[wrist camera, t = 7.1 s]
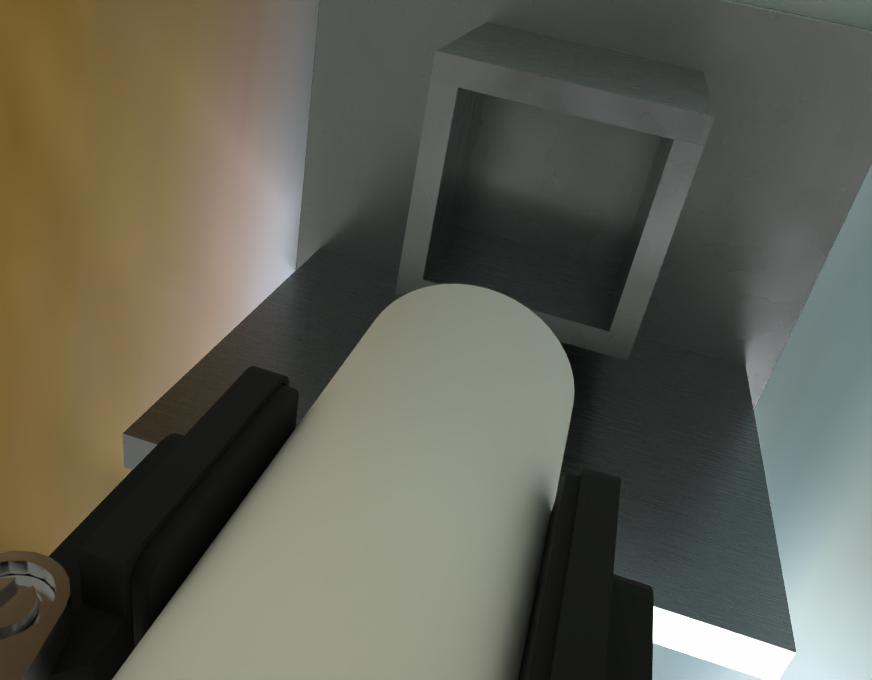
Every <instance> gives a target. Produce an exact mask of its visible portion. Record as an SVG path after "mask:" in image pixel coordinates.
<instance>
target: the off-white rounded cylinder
mask: <svg viewBox="0 0 872 680" xmlns="http://www.w3.org/2000/svg"><path fill="white" fill-rule="evenodd" d="M574 392H575V391H574V378H573V374H572V369H571V365H570V363H569V360H568V357H567V355H566V352H565V351H564V349H563V347H562V345H561V343H560V342H559V340H558V339H557V337H556V336H555V335H554V333H553V332H552V330H551V329H550V328H549V327H548V326H547V325H546V324H545V323H544V322H543V321H542V320H541V319H540V318H539V317H538V316H537V315H536V314H535V313H533V312H532V311H531V310H530V309H528V308H527V307H525V306H524V305H522V304H521V303H519V302H517V301H516V300H514V299H512V298H510V297H508V296H506V295H504V294H502V293H499V292H496V291H493V290H490V289H487V288H483V287H478V286H474V285H466V284H440V285H433V286H428V287H424V288H421V289H418V290H414V291H412V292H410V293H408V294H406V295H404V296H402V297H400V298H399V299H397V300H396V301H394V302H392V303H391V304H390V305H389V306H388V307H387V308H385V309H384V310H383V311H382V312H381V313H380V315H379V316H378V317H377V318H376V320H375V321H374V322H373V323H372V325H371V326H370V328H369V329H368V330H367V332H366V333H365V334H364V336H363V337H362V339H361V340H360V341H359V343H358V344H357V345H356V347H355V348H354V349H353V351H352V352H351V354H350V355H349V356H348V358H347V359H346V360H345V362H344V363H343V364H342V366H341V367H340V369H339V370H338V371H337V373H336V374H335V375H334V377H333V378H332V380H331V381H330V382H329V384H328V385H327V386H326V388H325V389H324V390H323V392H322V393H321V395H320V396H319V397H318V399H317V400H316V401H315V403H314V404H313V405H312V407H311V408H310V410H309V411H308V412H307V414H306V415H305V416H304V418H303V419H302V421H301V422H300V423H299V425H298V426H297V427H296V429H295V430H294V431H293V433H292V434H291V436H290V437H289V438H288V440H287V441H286V442H285V444H284V445H283V446H282V448H281V449H280V451H279V452H278V453H277V455H276V456H275V457H274V459H273V460H272V462H271V463H270V464H269V466H268V467H267V468H266V470H265V471H264V472H263V474H262V475H261V477H260V478H259V479H258V481H257V482H256V483H255V485H254V486H253V487H252V489H251V490H250V492H249V493H248V494H247V496H246V497H245V498H244V500H243V501H242V503H241V504H240V505H239V507H238V508H237V509H236V511H235V512H234V513H233V515H232V516H231V518H230V519H229V520H228V522H227V523H226V524H225V526H224V527H223V529H222V530H221V531H220V533H219V534H218V535H217V537H216V538H215V539H214V541H213V542H212V544H211V545H210V546H209V548H208V549H207V550H206V552H205V553H204V554H203V556H202V557H201V559H200V560H199V561H198V563H197V564H196V565H195V567H194V568H193V570H192V571H191V572H190V574H189V575H188V576H187V578H186V579H185V580H184V582H183V583H182V585H181V586H180V587H179V589H178V590H177V591H176V593H175V594H174V595H173V597H172V598H171V600H170V601H169V602H168V604H167V605H166V606H165V608H164V609H163V611H162V612H161V613H160V615H159V616H158V617H157V619H156V620H155V621H154V623H153V624H152V626H151V627H150V628H149V630H148V631H147V632H146V634H145V635H144V636H143V638H142V639H141V641H140V642H139V643H138V645H137V646H136V647H135V649H134V650H133V652H132V653H131V654H130V656H129V657H128V658H127V660H126V661H125V662H124V664H123V665H122V667H121V668H120V669H119V671H118V672H117V673H116V675H115V676H114V678H113V679H112V680H518V678H519V672H520V667H521V662H522V657H523V652H524V647H525V642H526V637H527V632H528V627H529V622H530V616H531V611H532V606H533V601H534V596H535V591H536V586H537V581H538V576H539V571H540V566H541V561H542V555H543V550H544V545H545V540H546V535H547V530H548V525H549V520H550V515H551V511H552V508H553V505H554V502H555V497H556V492H557V487H558V482H559V476H560V471H561V466H562V461H563V456H564V451H565V445H566V440H567V435H568V430H569V425H570V420H571V414H572V409H573V404H574Z"/></svg>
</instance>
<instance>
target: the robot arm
mask: <svg viewBox="0 0 872 680" xmlns="http://www.w3.org/2000/svg"><path fill="white" fill-rule="evenodd" d="M289 383H290V382H289V378H288V377H287V376H285V375H282V374H279V373H275V372H272V371H269V370H266V369H262V368H259V367H256V366H250V367H249V368H248V369H246V370H245V371H244V373H243V374H242V375H241V376H240V377H239V378H238V379H237V380H236V381H235V382H234V383H233V384H232V385H231V386H230V387H229V389H228V390H227V391H226V392H225V393H224V394H223V395H222V396H221V397H220V398H219V399H218V400H217V401H216V402H215V403H214V405H213V406H212V407H211V408H210V409H209V410H208V411H207V412H206V413H205V414H204V415H203V416H202V417H201V418H200V419H199V421H198V422H197V423H196V424H195V425H194V426H193V427H192V428H191V429H190V430H189V431H188V432H187V433H186V434H185V436H183V435H180V434H177V433H173V434H170V435H168V436H166V437H165V438H164V439H163V440H162V441H160V442H159V443H158V445H157V446H156V447H155V448H154V449H153V450H152V451H151V452H150V453H149V454H148V455H147V456H146V457H145V458H144V459H143V460H142V461H141V462H140V463H139V464H138V465H137V466H136V467H135V468H134V469H133V470H132V471H131V472H130V473H129V474H128V475H127V476H126V477H125V478H124V480H123V481H122V482H121V483H120V484H119V485H118V486H117V487H116V488H115V489H114V490H113V491H112V492H111V493H110V494H109V495H108V496H107V497H106V498H105V499H104V500H103V501H102V502H101V503H100V504H99V505H98V506H97V507H96V508H95V509H94V510H93V511H92V512H91V513H90V514H89V516H88V517H87V518H86V519H85V520H84V521H83V522H82V523H81V524H80V525H79V526H78V527H77V528H76V529H75V530H74V531H73V532H72V533H71V534H70V535H69V536H68V537H67V538H66V539H65V540H64V541H63V542H62V543H61V544H60V545H59V546H58V547H57V548H56V549H55V551H54V552H53V553H52V554H51V555H50V556H49V557H48V556H45V555H42V554H39V553H35V552H26V551H10V552H3V553H0V680H112V679H113V678H114V676H115V675H116V673H117V672H118V671H119V669H120V668H121V667H122V665H123V664H124V662H125V661H126V660H127V658H128V657H129V656H130V654H131V653H132V652H133V650H134V649H135V647H136V646H137V645H138V643H139V642H140V641H141V639H142V638H143V636H144V635H145V634H146V632H147V631H148V630H149V628H150V627H151V626H152V624H153V623H154V621H155V620H156V619H157V617H158V616H159V615H160V613H161V612H162V611H163V609H164V608H165V606H166V605H167V604H168V602H169V601H170V600H171V598H172V597H173V595H174V594H175V593H176V591H177V590H178V589H179V587H180V586H181V585H182V583H183V582H184V580H185V579H186V578H187V576H188V575H189V574H190V572H191V571H192V570H193V568H194V567H195V565H196V564H197V563H198V561H199V560H200V559H201V557H202V556H203V554H204V553H205V552H206V550H207V549H208V548H209V546H210V545H211V544H212V542H213V541H214V539H215V538H216V537H217V535H218V534H219V533H220V531H221V530H222V529H223V527H224V526H225V524H226V523H227V522H228V520H229V519H230V518H231V516H232V515H233V513H234V512H235V511H236V509H237V508H238V507H239V505H240V504H241V503H242V501H243V500H244V498H245V497H246V496H247V494H248V493H249V492H250V490H251V489H252V487H253V486H254V485H255V483H256V482H257V481H258V479H259V478H260V477H261V475H262V474H263V472H264V471H265V470H266V468H267V467H268V466H269V464H270V463H271V462H272V460H273V459H274V457H275V456H276V455H277V453H278V452H279V451H280V449H281V448H282V446H283V445H284V444H285V442H286V441H287V440H288V438H289V437H290V436H291V434H292V433H293V431H294V430H295V429H296V419H297V409H298V399H299V393H298V390H297V389H295V388H292V387H289ZM620 488H621V479H620V477H617V476H614V475H610V474H607V473H604V472H601V471H597V470H594V469H591V468H587V467H584V466H583V467H582V468H581V470H580V473H579V475H576V474H572V473H569V472H565V473H564V476H563V479H562V482H561V484H560V487H559V490H558V493H557V496H556V499H555V502H554V505H553V508H552V511H551V515H550V520H549V525H548V530H547V535H546V540H545V545H544V550H543V555H542V561H541V566H540V571H539V576H538V581H537V586H536V591H535V596H534V601H533V606H532V611H531V616H530V622H529V627H528V632H527V637H526V642H525V647H524V652H523V657H522V662H521V667H520V672H519V678H518V680H652V658H653V609H654V598H653V590H652V587H651V586H649V585H646V584H643V583H640V582H637V581H634V580H631V579H627V578H624V577H621V576H618V575H615V574H613V572H614V560H615V548H616V536H617V524H618V512H619V500H620Z"/></svg>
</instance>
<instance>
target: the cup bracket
mask: <svg viewBox="0 0 872 680" xmlns="http://www.w3.org/2000/svg"><path fill="white" fill-rule="evenodd" d="M871 164H872V31H871V30H867V29H862V28H857V27H853V26H848V25H843V24H839V23H834V22H829V21H825V20H820V19H815V18H811V17H806V16H801V15H797V14H792V13H787V12H783V11H778V10H773V9H769V8H764V7H759V6H755V5H750V4H745V3H741V2H736V1H732V0H320V2H319V14H318V25H317V36H316V47H315V59H314V70H313V81H312V93H311V104H310V115H309V126H308V138H307V149H306V160H305V172H304V183H303V194H302V205H301V217H300V228H299V239H298V251H297V262H296V271H295V272H294V273H293V274H292V275H291V276H290V277H289V278H288V279H286V280H285V281H284V282H283V283H282V284H281V285H280V286H279V287H278V288H277V289H276V290H275V291H274V292H273V293H272V294H271V295H269V296H268V297H267V298H266V299H265V300H264V301H263V302H262V303H261V304H260V305H259V306H258V307H257V308H256V309H255V310H254V311H252V312H251V313H250V314H249V315H248V316H247V317H246V318H245V319H244V320H243V321H242V322H241V323H240V324H239V325H238V326H237V327H235V328H234V329H233V330H232V331H231V332H230V333H229V334H228V335H227V336H226V337H225V338H224V339H223V340H222V341H221V342H220V343H218V344H217V345H216V346H215V347H214V348H213V349H212V350H211V351H210V352H209V353H208V354H207V355H206V356H205V357H204V358H203V359H201V360H200V361H199V362H198V363H197V364H196V365H195V366H194V367H193V368H192V369H191V370H190V371H189V372H188V373H187V374H186V375H184V376H183V377H182V378H181V379H180V380H179V381H178V382H177V383H176V384H175V385H174V386H173V387H172V388H171V389H170V390H169V391H167V392H166V393H165V394H164V395H163V396H162V397H161V398H160V399H159V400H158V401H157V402H156V403H155V404H154V405H153V406H152V407H150V408H149V409H148V410H147V411H146V412H145V413H144V414H143V415H142V416H141V417H140V418H139V419H138V420H137V421H136V422H135V423H133V424H132V425H131V426H130V427H129V428H128V429H127V430H126V431H125V432H124V433H123V449H124V467H126V468H129V469H132V470H133V469H134V468H135V467H136V466H137V465H138V464H139V463H140V462H141V461H142V460H143V459H144V458H145V457H146V456H147V455H148V454H149V453H150V452H151V451H152V450H153V449H154V448H155V447H156V446H157V445H158V443H159V442H160V441H162V440H163V439H164V438H165V437H166V436H168V435H170V434H173V433H177V434H180V435H183V436H185V434H186V433H187V432H188V431H189V430H190V429H191V428H192V427H193V426H194V425H195V424H196V423H197V422H198V421H199V419H200V418H201V417H202V416H203V415H204V414H205V413H206V412H207V411H208V410H209V409H210V408H211V407H212V406H213V405H214V403H215V402H216V401H217V400H218V399H219V398H220V397H221V396H222V395H223V394H224V393H225V392H226V391H227V390H228V389H229V387H230V386H231V385H232V384H233V383H234V382H235V381H236V380H237V379H238V378H239V377H240V376H241V375H242V374H243V373H244V371H245V370H246V369H248V368H249V367H250V366H256V367H259V368H262V369H266V370H269V371H272V372H275V373H279V374H282V375H285V376H287V377H288V378H289V382H290V383H289V387H292V388H295V389H297V390H298V393H299V399H298V409H297V419H296V427H297V426H298V425H299V423H300V422H301V421H302V419H303V418H304V416H305V415H306V414H307V412H308V411H309V410H310V408H311V407H312V405H313V404H314V403H315V401H316V400H317V399H318V397H319V396H320V395H321V393H322V392H323V390H324V389H325V388H326V386H327V385H328V384H329V382H330V381H331V380H332V378H333V377H334V375H335V374H336V373H337V371H338V370H339V369H340V367H341V366H342V364H343V363H344V362H345V360H346V359H347V358H348V356H349V355H350V354H351V352H352V351H353V349H354V348H355V347H356V345H357V344H358V343H359V341H360V340H361V339H362V337H363V336H364V334H365V333H366V332H367V330H368V329H369V328H370V326H371V325H372V323H373V322H374V321H375V320H376V318H377V317H378V316H379V315H380V313H381V312H382V311H383V310H384V309H385V308H387V307H388V306H389V305H390V304H391V303H392V302H394V301H396V300H397V299H399V298H400V297H402V296H404V295H406V294H408V293H410V292H412V291H414V290H418V289H421V288H424V287H428V286H433V285H440V284H466V285H474V286H478V287H483V288H487V289H490V290H493V291H496V292H499V293H502V294H504V295H506V296H508V297H510V298H512V299H514V300H516V301H517V302H519V303H521V304H522V305H524V306H525V307H527V308H528V309H530V310H531V311H532V312H533V313H535V314H536V315H537V316H538V317H539V318H540V319H541V320H542V321H543V322H544V323H545V324H546V325H547V326H548V327H549V328H550V329H551V330H552V332H553V333H554V335H555V336H556V337H557V339H558V340H559V342H560V343H561V345H562V347H563V349H564V351H565V352H566V355H567V357H568V360H569V363H570V365H571V369H572V374H573V378H574V391H575V392H574V404H573V409H572V414H571V420H570V425H569V430H568V435H567V440H566V445H565V451H564V456H563V461H562V466H561V471H560V476H559V482H558V487H557V492H556V496H557V493H558V490H559V487H560V484H561V482H562V479H563V476H564V473H565V472H569V473H572V474H576V475H579V473H580V470H581V468H582V467H583V466H584V467H587V468H591V469H594V470H597V471H601V472H604V473H607V474H610V475H614V476H617V477H620V479H621V488H620V500H619V512H618V524H617V536H616V548H615V560H614V572H613V574H615V575H618V576H621V577H624V578H627V579H631V580H634V581H637V582H640V583H643V584H646V585H649V586H651V587H652V590H653V598H654V609H653V643H656V644H659V645H662V646H665V647H668V648H671V649H674V650H677V651H680V652H683V653H686V654H689V655H692V656H695V657H698V658H701V659H704V660H707V661H710V662H713V663H716V664H719V665H722V666H725V667H728V668H731V669H734V670H737V671H740V672H743V673H746V674H749V675H752V676H755V677H758V678H761V679H764V680H779V679H780V677H781V676H782V674H783V672H784V671H785V669H786V668H787V666H788V665H789V663H790V661H791V660H792V658H793V657H794V655H795V654H796V649H795V643H794V637H793V631H792V626H791V620H790V614H789V609H788V603H787V597H786V592H785V586H784V580H783V575H782V569H781V563H780V558H779V552H778V546H777V541H776V535H775V529H774V524H773V518H772V512H771V507H770V501H769V495H768V490H767V484H766V478H765V473H764V467H763V461H762V455H761V450H760V444H759V438H758V433H757V427H756V421H755V416H754V409H755V407H756V405H757V403H758V400H759V398H760V396H761V394H762V392H763V390H764V388H765V386H766V384H767V382H768V380H769V377H770V375H771V373H772V371H773V369H774V367H775V365H776V363H777V361H778V359H779V357H780V354H781V352H782V350H783V348H784V346H785V344H786V342H787V340H788V338H789V336H790V334H791V331H792V329H793V327H794V325H795V323H796V321H797V319H798V317H799V315H800V313H801V310H802V308H803V306H804V304H805V302H806V300H807V298H808V296H809V294H810V292H811V290H812V287H813V285H814V283H815V281H816V279H817V277H818V275H819V273H820V271H821V269H822V267H823V264H824V262H825V260H826V258H827V256H828V254H829V252H830V250H831V248H832V246H833V244H834V241H835V239H836V237H837V235H838V233H839V231H840V229H841V227H842V225H843V223H844V221H845V218H846V216H847V214H848V212H849V210H850V208H851V206H852V204H853V202H854V200H855V197H856V195H857V193H858V191H859V189H860V187H861V185H862V183H863V181H864V179H865V177H866V174H867V172H868V170H869V168H870V166H871ZM555 499H556V497H555Z"/></svg>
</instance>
